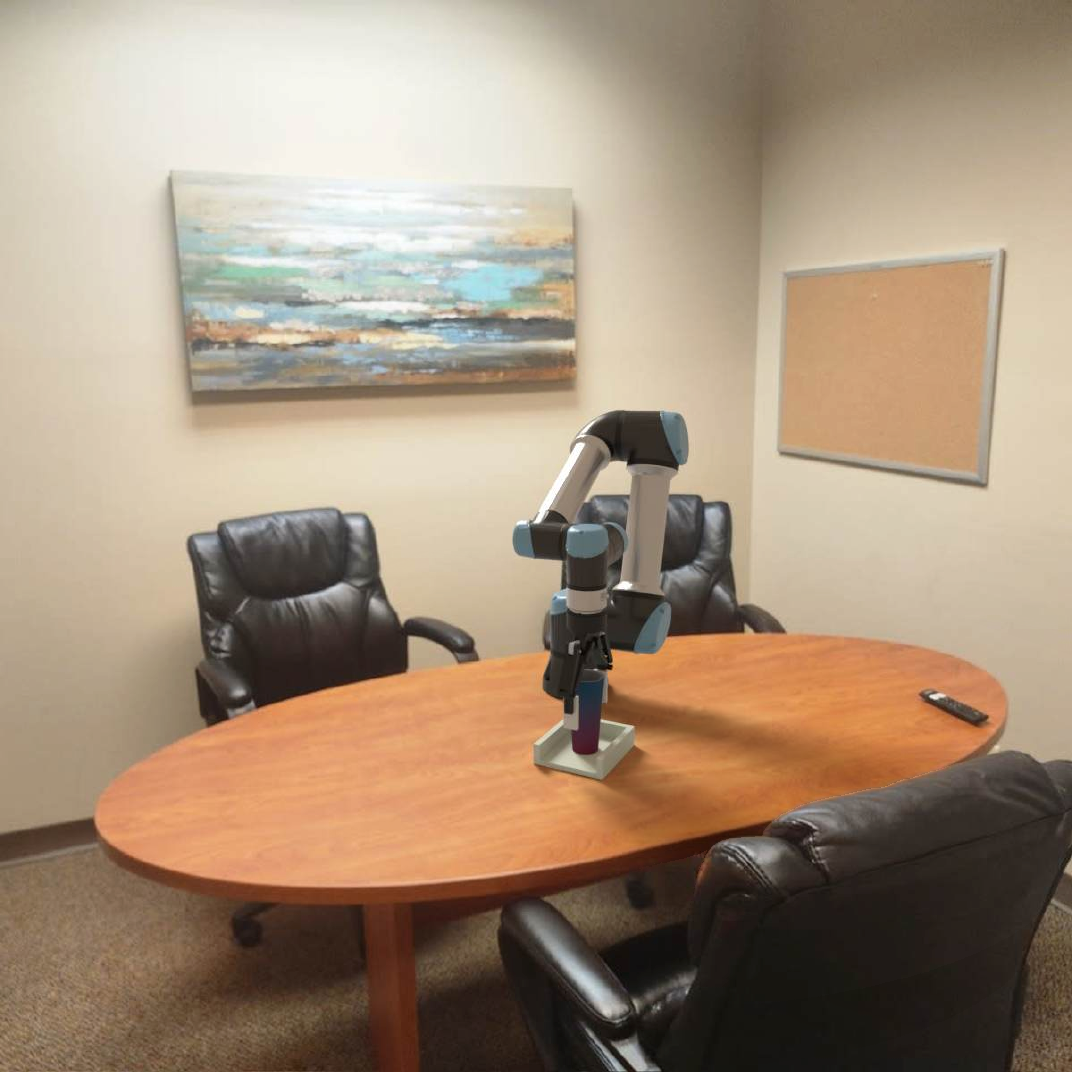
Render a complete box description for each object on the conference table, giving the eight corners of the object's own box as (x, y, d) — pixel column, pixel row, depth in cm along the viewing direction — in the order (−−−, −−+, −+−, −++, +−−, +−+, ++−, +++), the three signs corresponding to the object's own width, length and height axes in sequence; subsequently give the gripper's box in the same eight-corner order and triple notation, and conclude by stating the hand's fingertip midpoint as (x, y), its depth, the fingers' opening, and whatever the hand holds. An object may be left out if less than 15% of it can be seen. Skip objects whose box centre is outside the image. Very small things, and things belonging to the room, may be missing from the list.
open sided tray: (533, 763, 166) (533, 743, 165) (570, 731, 180) (570, 712, 179) (602, 780, 160) (602, 759, 159) (634, 745, 174) (634, 726, 173)
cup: (561, 752, 168) (562, 677, 165) (576, 738, 174) (577, 666, 171) (594, 759, 165) (595, 684, 162) (608, 745, 171) (610, 672, 168)
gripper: (576, 630, 151) (576, 744, 156) (630, 593, 173) (628, 694, 178) (538, 624, 155) (538, 736, 159) (595, 588, 176) (594, 688, 181)
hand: (586, 714), depth 169 cm, fingers open, 13 cm apart
